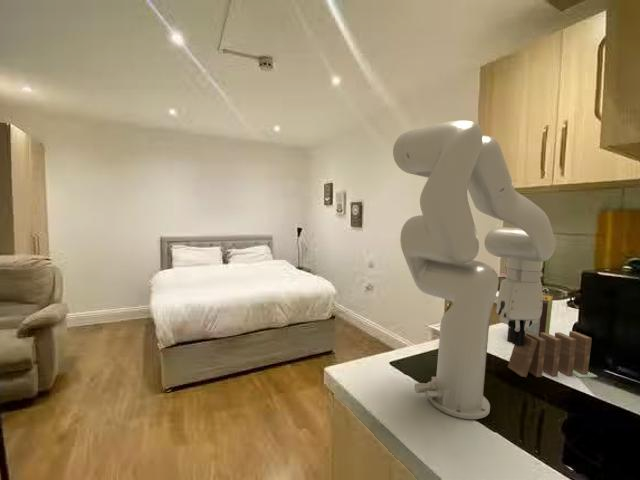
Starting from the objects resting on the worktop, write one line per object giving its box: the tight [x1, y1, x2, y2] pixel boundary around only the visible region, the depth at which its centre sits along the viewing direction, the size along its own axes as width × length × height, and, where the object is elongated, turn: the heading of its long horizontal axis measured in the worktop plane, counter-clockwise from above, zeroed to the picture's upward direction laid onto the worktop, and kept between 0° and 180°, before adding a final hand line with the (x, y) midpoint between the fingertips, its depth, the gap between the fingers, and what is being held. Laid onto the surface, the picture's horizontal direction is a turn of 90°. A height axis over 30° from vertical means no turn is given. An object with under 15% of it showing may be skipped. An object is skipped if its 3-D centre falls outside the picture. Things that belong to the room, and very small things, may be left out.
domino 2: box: [526, 333, 546, 378], centre depth 88 cm, size 2×5×10 cm, turn 8°
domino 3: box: [540, 333, 561, 378], centre depth 88 cm, size 2×5×10 cm, turn 8°
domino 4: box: [554, 331, 577, 377], centre depth 89 cm, size 2×5×10 cm, turn 8°
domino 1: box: [507, 335, 538, 378], centre depth 87 cm, size 2×5×10 cm, turn 8°
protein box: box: [506, 292, 554, 343], centre depth 112 cm, size 10×15×16 cm
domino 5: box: [568, 330, 593, 375], centre depth 89 cm, size 2×5×10 cm, turn 9°
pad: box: [572, 370, 598, 379], centre depth 90 cm, size 6×7×1 cm
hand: (516, 344), depth 87 cm, fingers closed
